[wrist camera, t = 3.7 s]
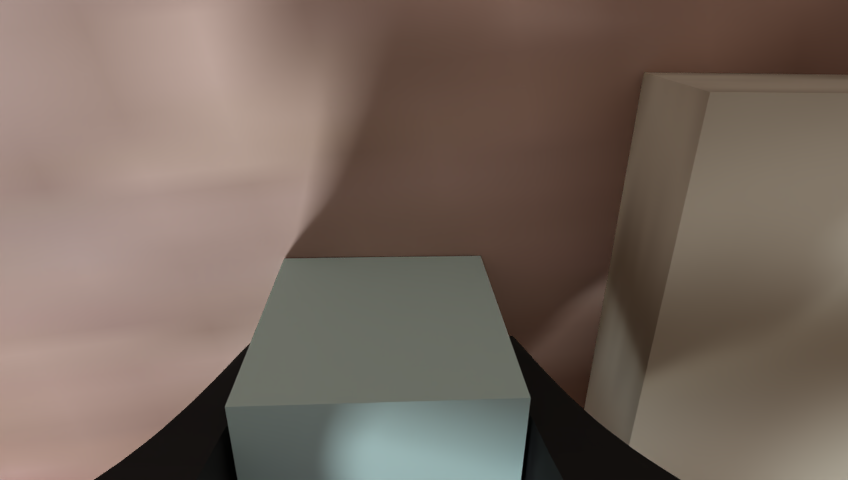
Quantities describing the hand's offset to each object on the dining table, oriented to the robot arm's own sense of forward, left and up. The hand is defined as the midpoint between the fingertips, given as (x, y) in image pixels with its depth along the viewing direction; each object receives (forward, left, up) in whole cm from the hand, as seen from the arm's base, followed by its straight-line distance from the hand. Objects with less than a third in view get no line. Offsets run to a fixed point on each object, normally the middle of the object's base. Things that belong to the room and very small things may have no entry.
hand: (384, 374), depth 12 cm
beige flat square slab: (+1, -11, -2) cm, 11 cm away
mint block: (0, 0, -1) cm, 1 cm away
